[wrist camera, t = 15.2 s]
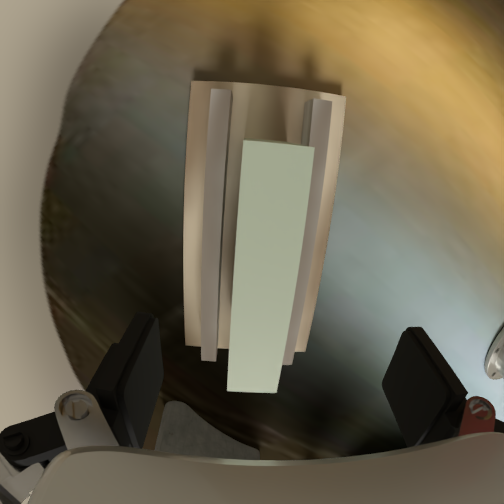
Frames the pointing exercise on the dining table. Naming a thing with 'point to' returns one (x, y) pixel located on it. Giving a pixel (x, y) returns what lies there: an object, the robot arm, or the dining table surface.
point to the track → (227, 198)
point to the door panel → (266, 259)
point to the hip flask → (197, 436)
